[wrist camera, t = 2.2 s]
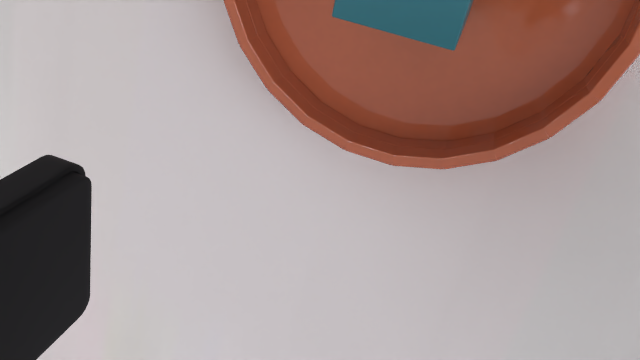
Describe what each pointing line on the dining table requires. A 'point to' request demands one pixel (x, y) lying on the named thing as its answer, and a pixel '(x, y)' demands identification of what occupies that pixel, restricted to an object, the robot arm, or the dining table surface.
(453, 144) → the bowl
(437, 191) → the dining table surface
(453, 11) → the block
